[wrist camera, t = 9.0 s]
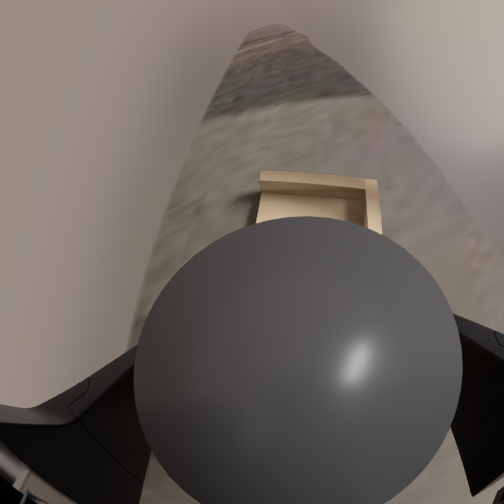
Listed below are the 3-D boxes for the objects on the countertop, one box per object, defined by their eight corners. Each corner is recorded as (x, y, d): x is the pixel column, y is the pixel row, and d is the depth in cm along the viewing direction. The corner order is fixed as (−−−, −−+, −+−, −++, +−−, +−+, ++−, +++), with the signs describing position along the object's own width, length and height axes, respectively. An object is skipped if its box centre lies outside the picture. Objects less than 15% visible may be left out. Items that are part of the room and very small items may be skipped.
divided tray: (355, 445, 14) (365, 457, 11) (222, 431, 15) (210, 440, 13) (370, 199, 21) (377, 177, 19) (264, 189, 23) (260, 167, 20)
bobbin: (337, 419, 14) (438, 507, 2) (241, 415, 15) (128, 494, 3) (343, 327, 16) (445, 222, 5) (249, 325, 17) (163, 216, 6)
